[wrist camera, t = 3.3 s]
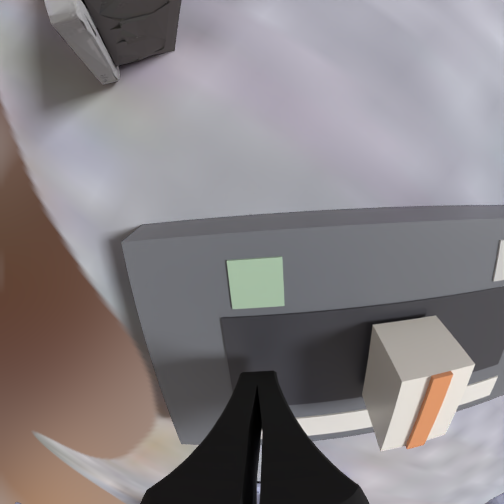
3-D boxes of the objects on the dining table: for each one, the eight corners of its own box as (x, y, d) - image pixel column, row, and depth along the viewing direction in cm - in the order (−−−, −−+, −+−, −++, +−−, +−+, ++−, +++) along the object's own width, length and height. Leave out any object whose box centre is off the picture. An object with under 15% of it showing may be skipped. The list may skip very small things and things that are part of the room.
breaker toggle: (418, 384, 13) (446, 438, 10) (362, 394, 13) (381, 454, 10) (435, 315, 12) (477, 367, 9) (372, 324, 12) (404, 386, 9)
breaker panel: (499, 369, 17) (516, 390, 15) (188, 413, 18) (181, 445, 16) (540, 205, 13) (569, 217, 11) (142, 224, 14) (120, 242, 12)
